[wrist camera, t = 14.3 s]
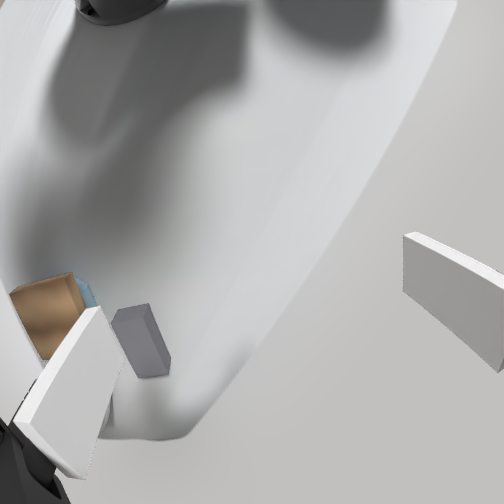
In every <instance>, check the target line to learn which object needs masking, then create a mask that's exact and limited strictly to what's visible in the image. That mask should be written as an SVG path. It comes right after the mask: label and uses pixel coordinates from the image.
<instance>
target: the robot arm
mask: <svg viewBox="0 0 504 504" xmlns="http://www.w3.org/2000/svg"><path fill="white" fill-rule="evenodd" d="M164 1H165V0H75V4H76V7H77V9H78V11H79V12H80V13H81V14H82V15H83V16H84V17H85V18H86V19H87V20H88V21H90V22H92V23H95V24H99V25H117V24H122V23H126V22H129V21H132V20H135V19H138V18H140V17H142V16H144V15H146V14H148V13H149V12H151V11H153V10H154V9H156V8H157V7H158V6H160V5H161V4H162V3H163V2H164ZM403 257H404V258H403V292H405V293H406V294H407V295H408V296H410V297H411V298H412V299H413V300H415V301H416V302H417V303H418V304H420V305H421V306H422V307H423V308H424V309H426V310H427V311H428V312H429V313H430V314H432V315H433V316H434V317H435V318H437V319H438V320H439V321H440V322H441V323H442V324H444V325H445V326H446V327H447V328H448V329H449V330H450V331H452V332H453V333H454V334H455V335H456V336H457V337H459V338H460V339H461V340H462V341H463V342H464V343H465V344H467V345H468V346H469V347H470V348H471V349H472V350H473V351H474V352H475V353H477V354H478V355H479V356H480V357H481V358H482V359H483V360H484V361H485V362H486V363H487V364H489V365H490V366H491V367H492V368H493V369H494V370H495V371H496V372H497V373H498V372H500V371H501V370H503V369H504V275H503V274H502V273H500V272H498V271H496V270H494V269H492V268H490V267H488V266H486V265H484V264H482V263H480V262H478V261H476V260H475V259H473V258H471V257H468V256H467V255H464V254H462V253H461V252H459V251H457V250H454V249H452V248H450V247H448V246H446V245H444V244H442V243H440V242H437V241H436V240H433V239H431V238H429V237H427V236H425V235H422V234H420V233H418V232H413V233H409V234H405V235H403ZM124 359H125V357H124V355H123V353H122V351H121V349H120V347H119V345H118V343H117V341H116V339H115V337H114V335H113V333H112V331H111V328H110V326H109V324H108V322H107V320H106V317H105V315H104V313H103V311H102V308H101V306H97V307H92V308H87V309H85V311H84V312H83V313H82V315H81V316H80V318H79V319H78V320H77V322H76V323H75V324H74V326H73V327H72V329H71V330H70V331H69V333H68V334H67V336H66V337H65V338H64V340H63V341H62V343H61V344H60V346H59V347H58V349H57V350H56V351H55V353H54V354H53V356H52V357H51V359H50V360H49V362H48V363H47V365H46V367H45V368H44V370H43V371H42V373H41V374H40V376H39V377H38V378H37V379H36V380H35V381H34V383H33V384H32V386H31V388H30V389H29V393H27V394H26V396H25V397H24V400H23V401H22V403H21V404H20V406H19V408H18V410H17V411H16V413H15V415H14V416H13V418H12V420H11V422H10V424H9V425H8V426H7V425H6V424H5V423H4V422H3V420H2V419H1V418H0V504H71V503H70V501H69V499H68V497H67V495H66V493H65V490H64V488H63V486H62V484H61V481H60V480H59V478H58V477H57V476H56V475H55V474H54V473H55V470H56V467H57V468H58V469H59V470H60V471H61V472H62V473H63V474H64V475H65V476H67V477H69V478H75V479H82V480H85V479H86V476H87V472H88V468H89V465H90V461H91V458H92V454H93V451H94V447H95V444H96V441H97V437H98V434H99V431H100V428H101V425H102V422H103V419H104V415H105V412H106V409H107V406H108V404H109V401H110V398H111V395H112V392H113V389H114V386H115V384H116V381H117V378H118V375H119V373H120V370H121V367H122V365H123V362H124Z"/></svg>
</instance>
